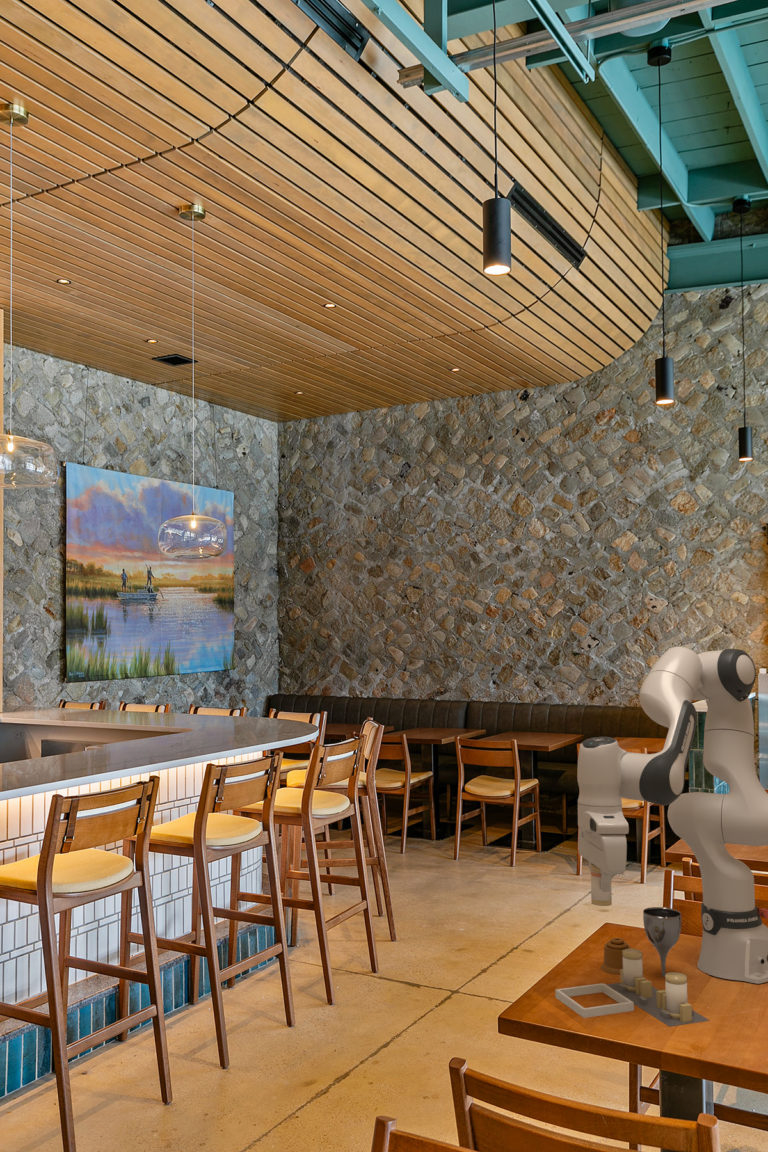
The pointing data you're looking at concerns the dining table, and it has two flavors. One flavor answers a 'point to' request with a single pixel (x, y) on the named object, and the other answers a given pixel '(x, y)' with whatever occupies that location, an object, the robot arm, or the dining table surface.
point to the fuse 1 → (631, 968)
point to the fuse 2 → (675, 993)
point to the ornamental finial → (614, 956)
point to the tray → (622, 1006)
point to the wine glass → (662, 930)
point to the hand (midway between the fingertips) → (600, 887)
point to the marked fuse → (598, 889)
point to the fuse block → (656, 1002)
